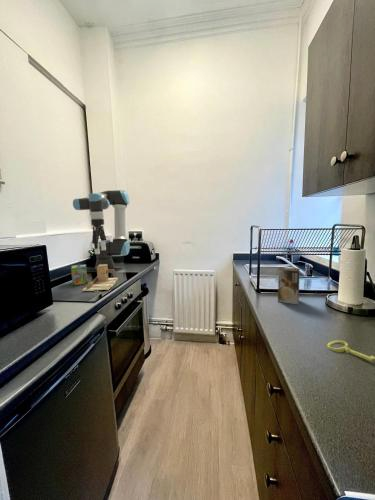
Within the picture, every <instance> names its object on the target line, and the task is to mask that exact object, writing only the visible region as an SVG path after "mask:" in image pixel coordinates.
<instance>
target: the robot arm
mask: <svg viewBox="0 0 375 500" xmlns="http://www.w3.org/2000/svg"><path fill="white" fill-rule="evenodd" d="M129 204H130V198H129V194H128V192H127V190H123V189H119V190H117V189H116V190H115V189H114V190H104V191H101V192H97V193H96V192H95V193H89V194H88V196H87V197H82V198H74V199H73V200H72V206H73V208H74V210H75V211H88V210H89V212H90V213H89V216H90V219H91V220H90V223H91V226H92V239H91V240H92V241H91V244H92V245H93V250H94V255H96V262H95V267H94V268H95V271H97V266H98V265H102V264H107V268H108V270H112V269H114V270H115V269H116V268H115V267H116V266H115V262H114V260H113V257H118V256H120V257H123V256H127V255H129V253H130V249H131V245H130V244H131V243H130V241H128V238H127V237H126V209H127V207H128V205H129ZM110 206H111V207H112V208H113V209H114V214H113V215H114V237H113V238H112V241H111V239H107V235H106V232H105V230H104V229H105V228H104V225H105V219H104V210H107V209H109V207H110ZM99 239H100V241H99Z"/></svg>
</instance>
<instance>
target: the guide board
mask: <svg viewBox="0 0 375 500" xmlns="http://www.w3.org/2000/svg"><path fill="white" fill-rule="evenodd" d="M108 278H109V279H108V280H107V281H104V282H98V276H96V277H95V278H94V279H92V280H91V281H90V282H88V284H86V286H85V287H84V288H83V289H82V292H83V291H94V290H109V289H110V288H111V287H112V288H113V287H114V285H115V284H116V283H117V282H118V280H119V279H118V277H108ZM112 288H111V289H112ZM111 289H110V290H111ZM110 290H109V291H110Z"/></svg>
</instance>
